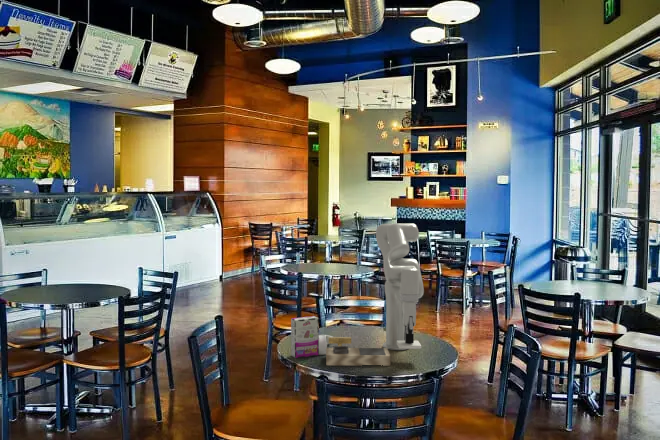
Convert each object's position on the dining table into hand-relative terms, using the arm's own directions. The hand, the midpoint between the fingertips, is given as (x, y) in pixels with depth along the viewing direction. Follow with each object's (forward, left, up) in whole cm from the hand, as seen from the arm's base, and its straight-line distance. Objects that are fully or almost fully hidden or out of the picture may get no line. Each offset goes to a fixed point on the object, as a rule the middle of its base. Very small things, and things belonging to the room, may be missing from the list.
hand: (408, 341), depth 246 cm
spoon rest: (+10, -41, -9) cm, 43 cm away
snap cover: (0, 0, -2) cm, 2 cm away
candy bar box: (+25, -37, -9) cm, 45 cm away
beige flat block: (+15, -15, -9) cm, 23 cm away
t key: (+9, -31, -9) cm, 33 cm away
